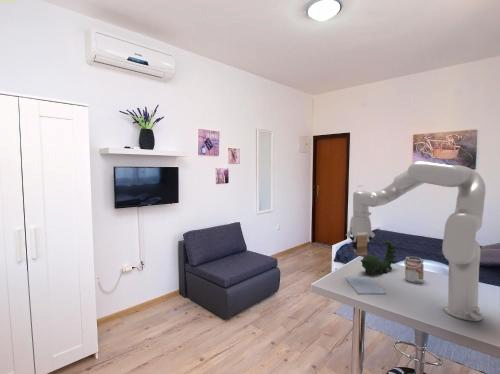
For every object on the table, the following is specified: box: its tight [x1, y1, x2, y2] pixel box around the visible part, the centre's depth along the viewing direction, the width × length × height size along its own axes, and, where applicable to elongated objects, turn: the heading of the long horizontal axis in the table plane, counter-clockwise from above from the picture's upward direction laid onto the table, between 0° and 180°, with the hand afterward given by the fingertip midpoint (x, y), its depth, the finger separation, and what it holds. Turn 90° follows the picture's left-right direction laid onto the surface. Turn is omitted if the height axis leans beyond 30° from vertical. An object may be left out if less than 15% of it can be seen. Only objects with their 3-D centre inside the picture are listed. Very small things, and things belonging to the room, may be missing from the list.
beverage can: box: [403, 256, 424, 284], centre depth 142 cm, size 9×8×12 cm
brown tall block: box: [353, 232, 368, 256], centre depth 142 cm, size 5×5×12 cm
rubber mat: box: [344, 276, 387, 295], centre depth 138 cm, size 20×13×1 cm, turn 178°
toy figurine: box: [360, 240, 397, 276], centre depth 155 cm, size 9×19×25 cm
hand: (360, 248), depth 143 cm, fingers closed on brown tall block, 5 cm apart
